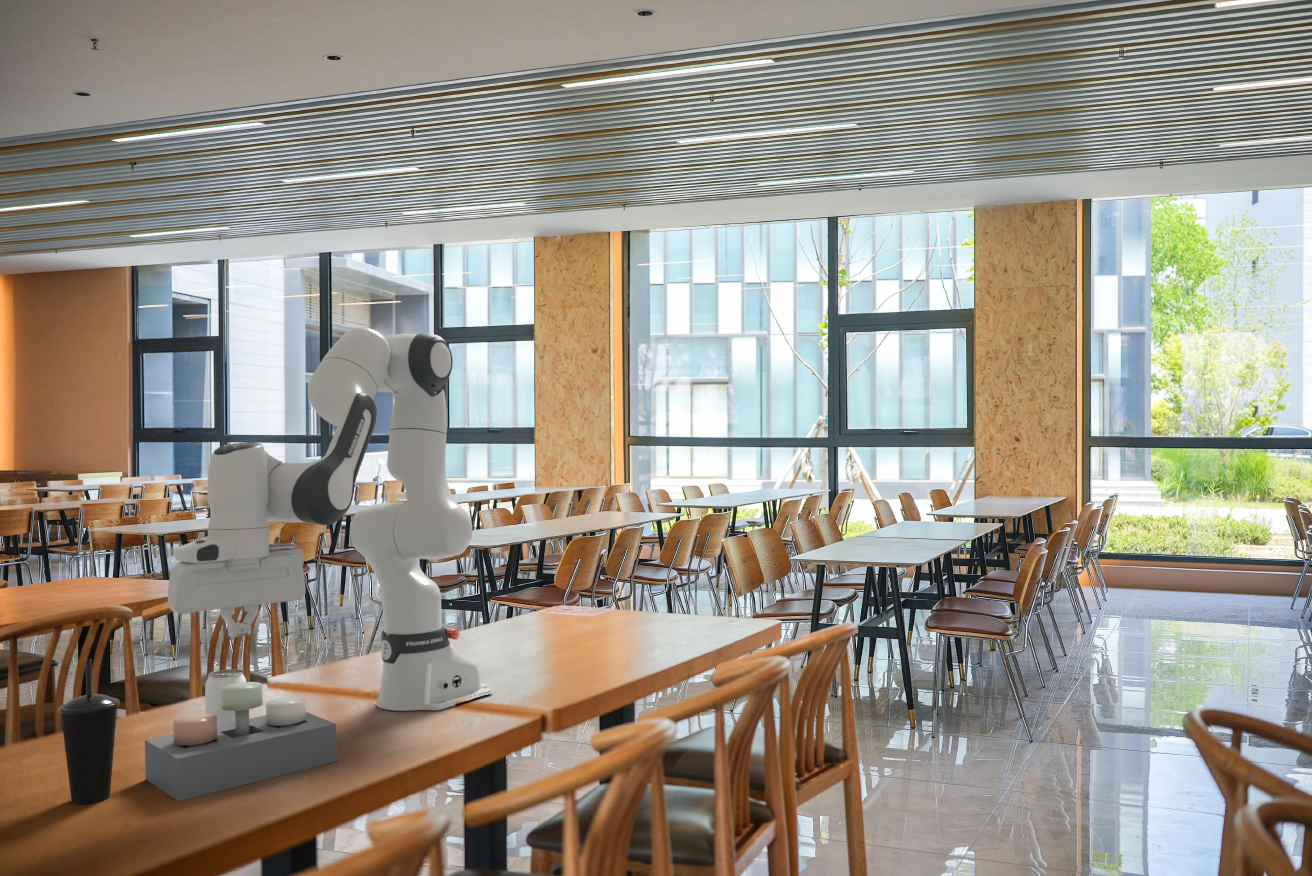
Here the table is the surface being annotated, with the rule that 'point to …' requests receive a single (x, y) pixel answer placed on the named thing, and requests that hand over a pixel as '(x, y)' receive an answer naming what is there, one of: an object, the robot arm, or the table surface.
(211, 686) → the can
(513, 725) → the table surface
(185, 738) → the knob
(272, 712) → the knob
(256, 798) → the table surface
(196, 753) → the mount
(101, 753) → the drinking cup
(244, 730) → the knob mid
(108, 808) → the table surface
